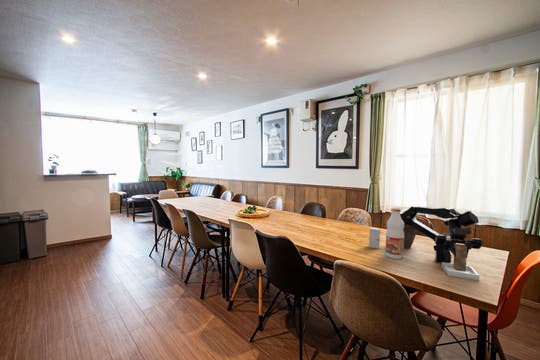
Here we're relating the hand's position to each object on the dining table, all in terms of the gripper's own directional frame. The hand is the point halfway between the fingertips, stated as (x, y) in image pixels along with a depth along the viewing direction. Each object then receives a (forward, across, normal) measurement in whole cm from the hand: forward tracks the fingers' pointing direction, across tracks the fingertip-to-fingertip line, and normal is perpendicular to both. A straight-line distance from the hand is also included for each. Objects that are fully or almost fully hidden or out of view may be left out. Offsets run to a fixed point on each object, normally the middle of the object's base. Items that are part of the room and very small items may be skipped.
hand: (460, 257), depth 121 cm
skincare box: (-14, -39, +26) cm, 49 cm away
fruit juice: (-4, -28, +16) cm, 33 cm away
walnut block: (+4, 0, +6) cm, 7 cm away
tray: (+5, 0, +7) cm, 9 cm away
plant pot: (-20, -21, +33) cm, 44 cm away
